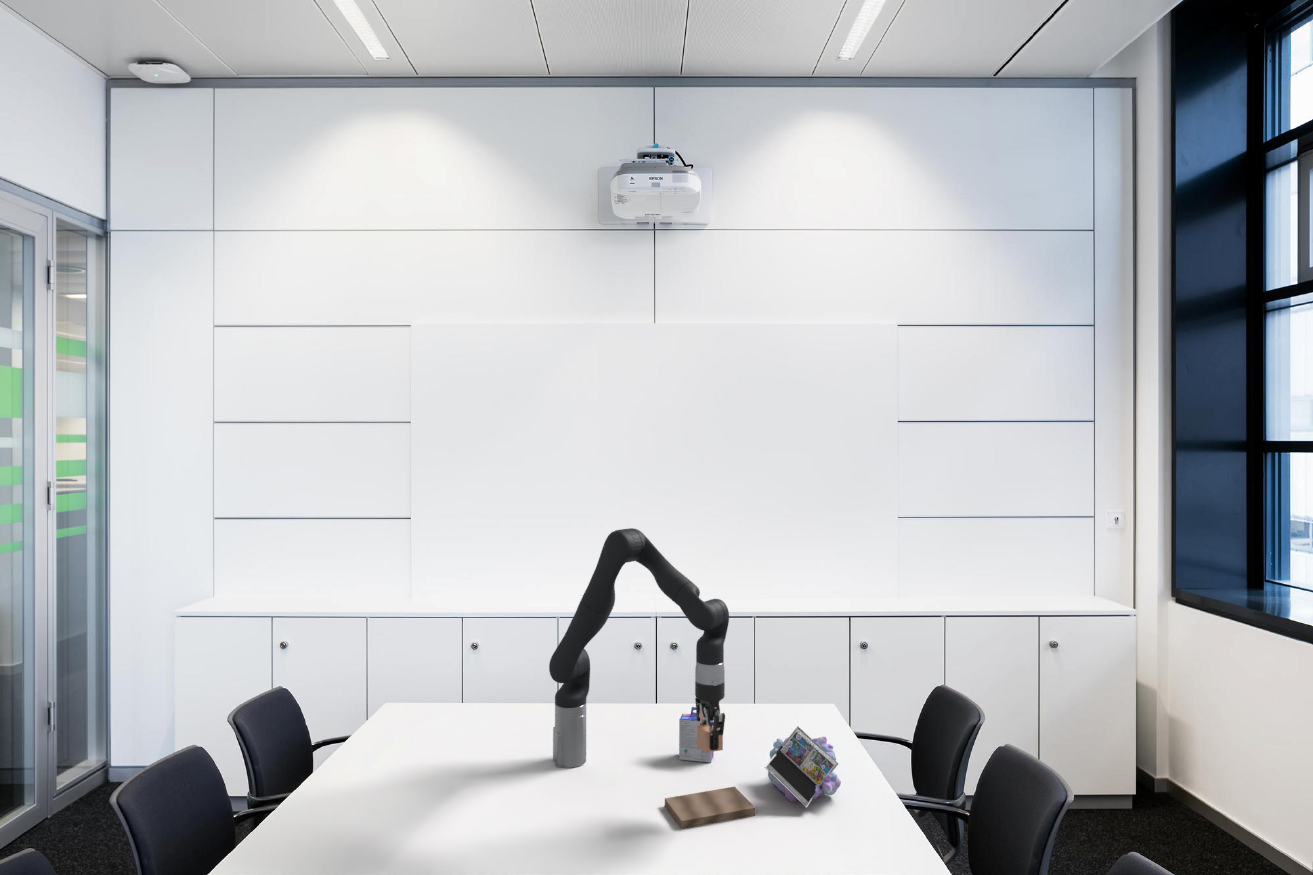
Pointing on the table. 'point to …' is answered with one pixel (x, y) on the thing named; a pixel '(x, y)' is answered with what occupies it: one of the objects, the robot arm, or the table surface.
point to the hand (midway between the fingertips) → (709, 744)
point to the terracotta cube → (706, 739)
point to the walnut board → (709, 807)
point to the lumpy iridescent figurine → (803, 767)
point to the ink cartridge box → (691, 739)
